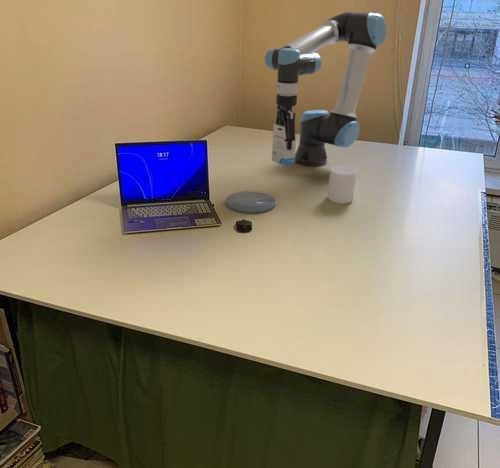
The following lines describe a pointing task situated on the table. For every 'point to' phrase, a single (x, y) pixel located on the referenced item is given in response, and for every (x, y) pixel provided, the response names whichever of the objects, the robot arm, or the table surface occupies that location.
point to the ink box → (281, 147)
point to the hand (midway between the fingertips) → (283, 153)
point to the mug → (341, 184)
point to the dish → (250, 202)
